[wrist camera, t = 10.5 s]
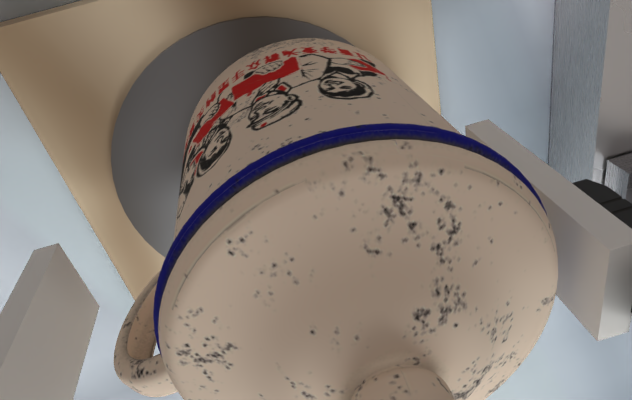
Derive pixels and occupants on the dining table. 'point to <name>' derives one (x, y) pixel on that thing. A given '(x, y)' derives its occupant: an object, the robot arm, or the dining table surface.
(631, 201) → the lever handle
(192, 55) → the press bed
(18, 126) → the dining table surface
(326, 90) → the teacup with lid
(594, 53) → the lever track
